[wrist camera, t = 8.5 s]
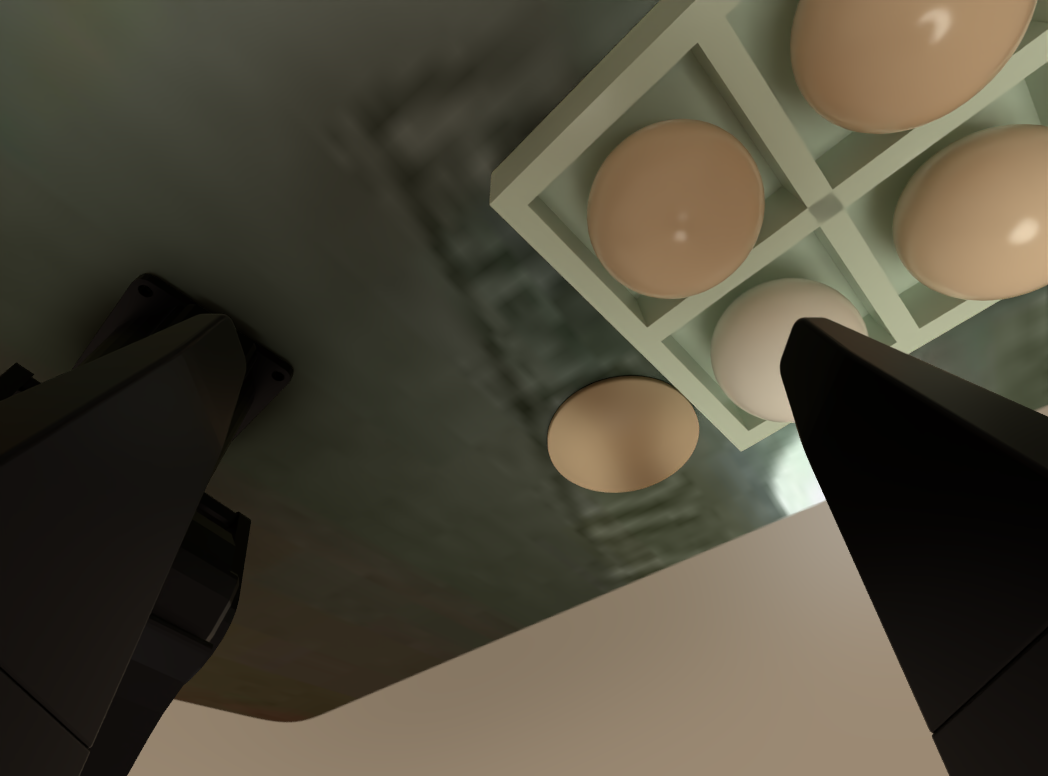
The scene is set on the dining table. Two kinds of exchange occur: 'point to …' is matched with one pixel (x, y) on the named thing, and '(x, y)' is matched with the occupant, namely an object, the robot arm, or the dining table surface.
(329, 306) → the dining table surface
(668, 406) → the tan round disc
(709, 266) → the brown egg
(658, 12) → the egg tray
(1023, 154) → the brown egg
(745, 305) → the white egg
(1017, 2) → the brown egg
